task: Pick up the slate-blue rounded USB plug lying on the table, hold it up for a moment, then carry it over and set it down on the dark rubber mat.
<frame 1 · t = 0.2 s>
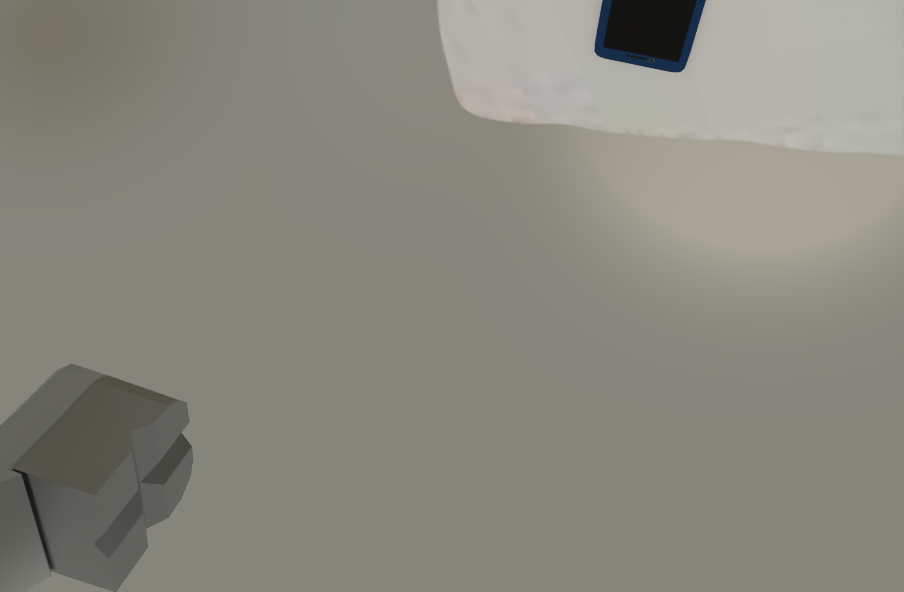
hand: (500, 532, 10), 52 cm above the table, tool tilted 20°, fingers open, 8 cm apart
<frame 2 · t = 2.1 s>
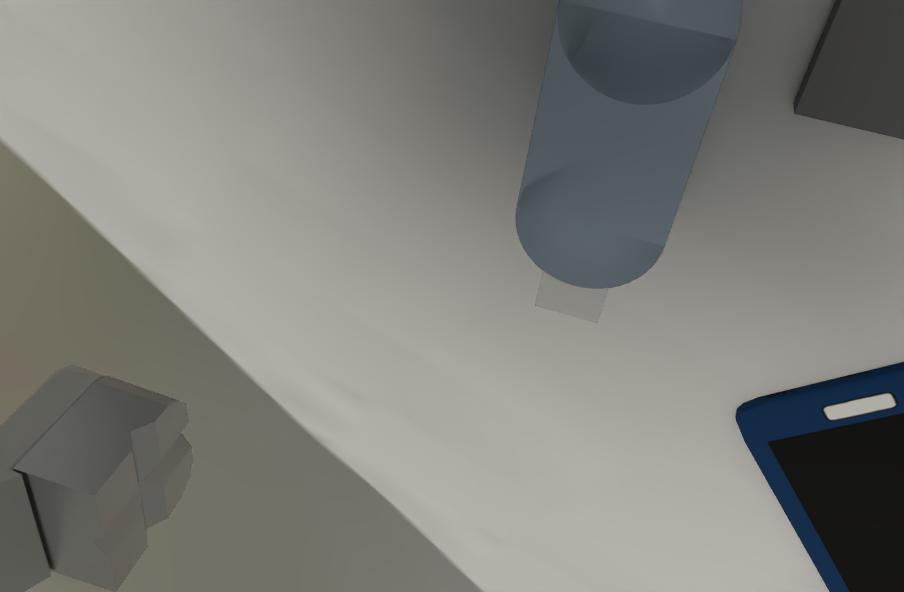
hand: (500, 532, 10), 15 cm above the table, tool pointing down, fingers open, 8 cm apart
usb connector: (635, 66, 21), on the table
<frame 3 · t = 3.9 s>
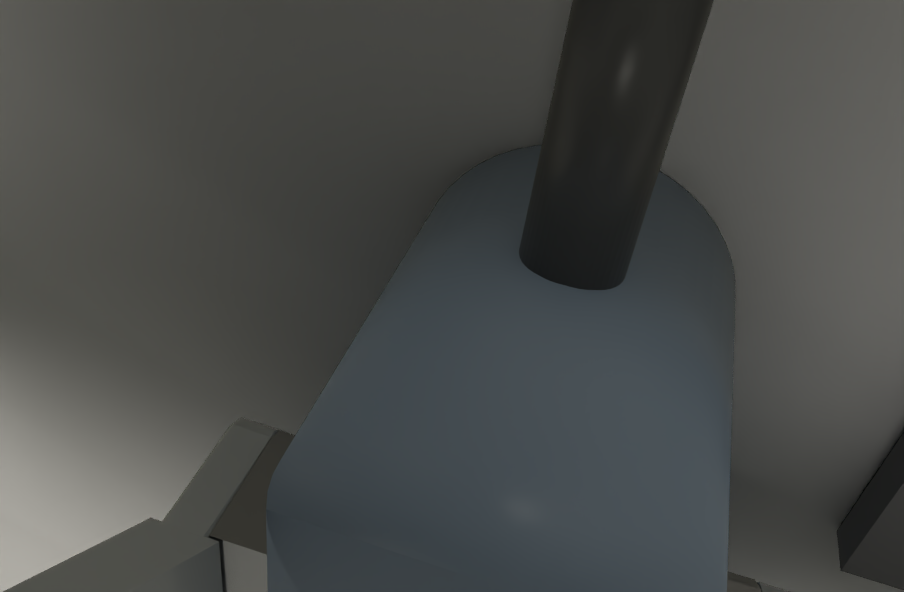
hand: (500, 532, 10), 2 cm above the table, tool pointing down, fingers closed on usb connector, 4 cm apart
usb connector: (529, 436, 11), on the table, touching gripper
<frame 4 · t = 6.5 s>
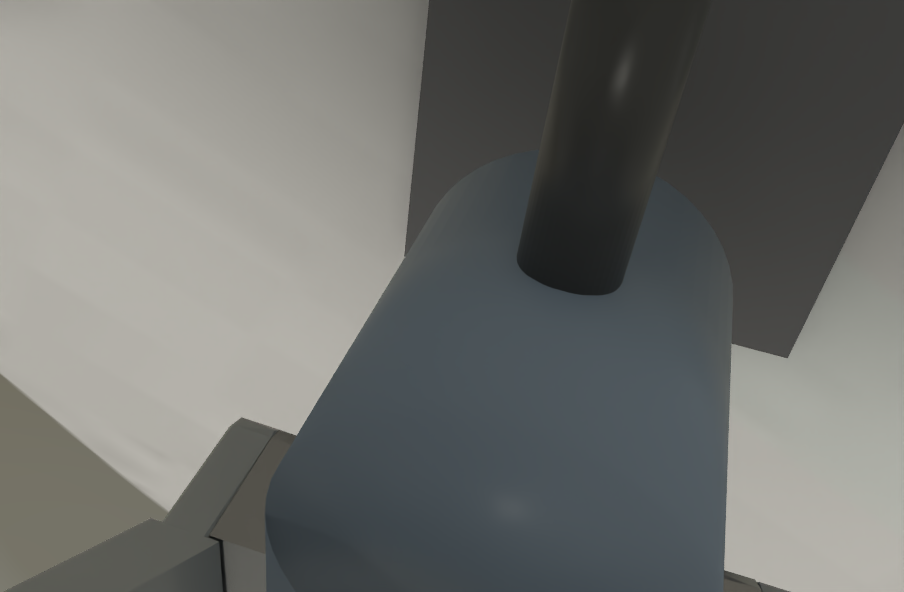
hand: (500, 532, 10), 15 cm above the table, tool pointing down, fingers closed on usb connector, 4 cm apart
rubber mat: (660, 48, 21), on the table
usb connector: (527, 439, 11), point 14 cm above the table, touching gripper
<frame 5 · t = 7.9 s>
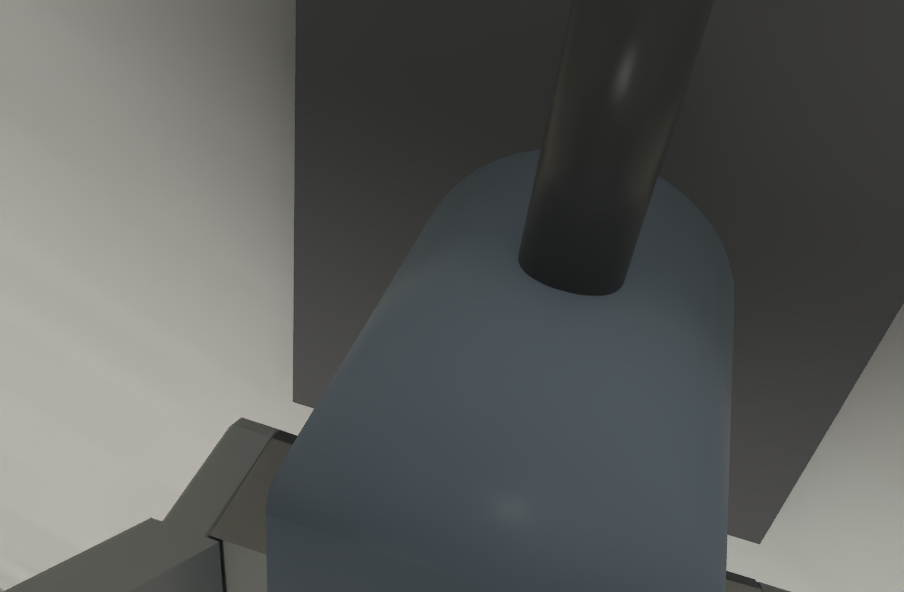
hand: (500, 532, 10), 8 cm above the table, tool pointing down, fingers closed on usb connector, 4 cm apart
rubber mat: (593, 182, 16), on the table
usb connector: (528, 440, 11), point 7 cm above the table, touching gripper
when the fingers open (3 cm above the table, at t = 9.2 s): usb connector stays where it is, resting on rubber mat.
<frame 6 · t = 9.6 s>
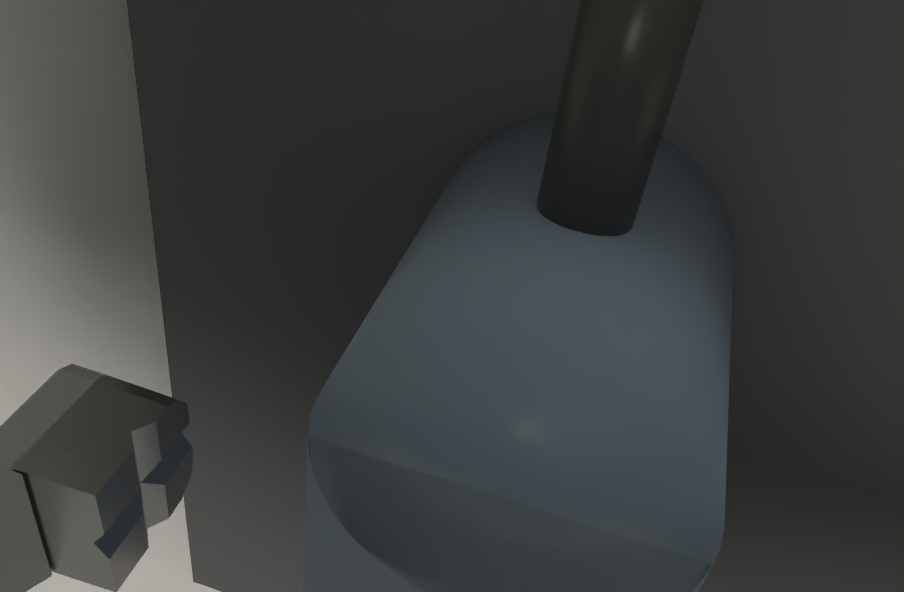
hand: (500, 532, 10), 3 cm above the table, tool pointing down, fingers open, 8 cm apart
rubber mat: (551, 367, 12), on the table
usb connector: (539, 395, 12), point 1 cm above the table, touching rubber mat
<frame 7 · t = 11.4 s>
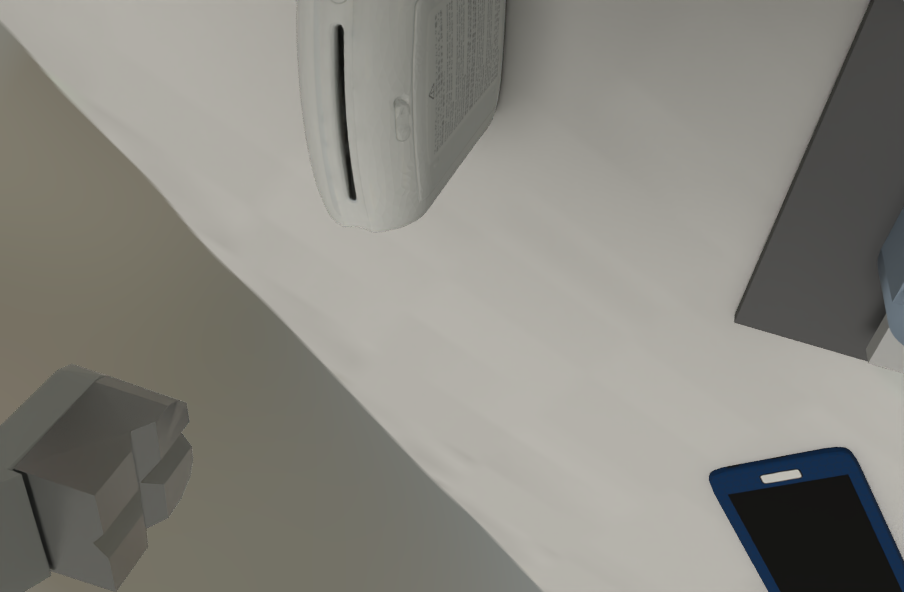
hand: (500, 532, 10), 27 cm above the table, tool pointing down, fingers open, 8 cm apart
photo printer: (462, 0, 35), on the table
cell phone: (820, 543, 45), on the table
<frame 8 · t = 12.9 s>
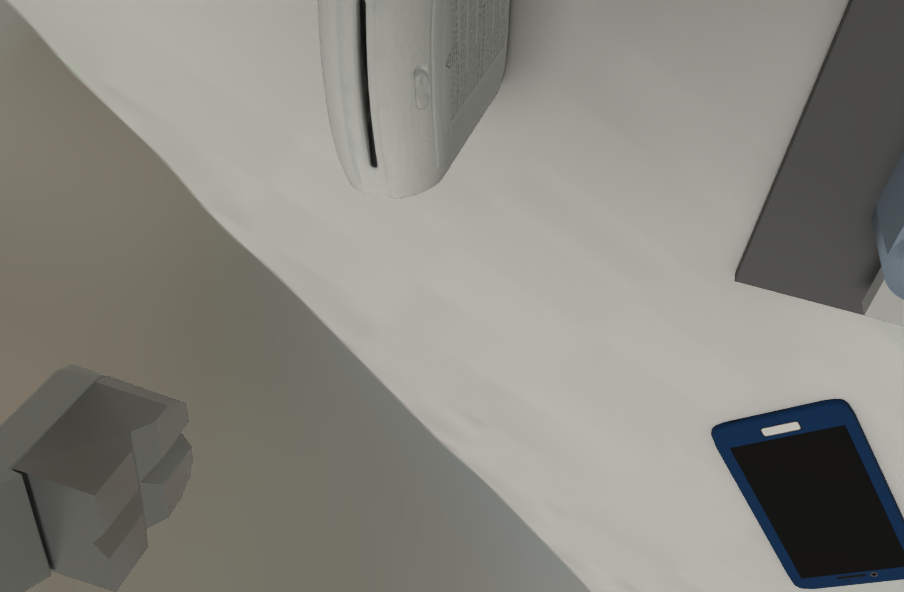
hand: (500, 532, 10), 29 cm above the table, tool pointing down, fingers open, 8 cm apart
cell phone: (818, 492, 47), on the table
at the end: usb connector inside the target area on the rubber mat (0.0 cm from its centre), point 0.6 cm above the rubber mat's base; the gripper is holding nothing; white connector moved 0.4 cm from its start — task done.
